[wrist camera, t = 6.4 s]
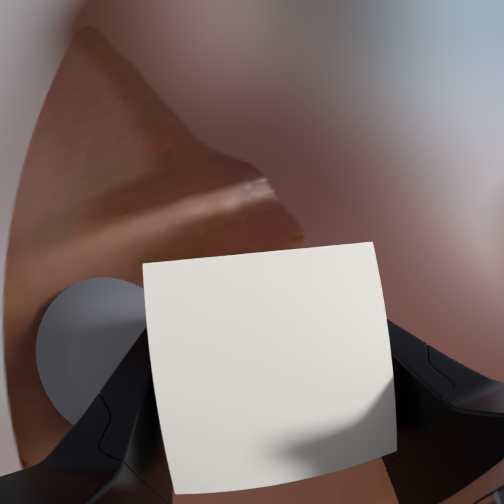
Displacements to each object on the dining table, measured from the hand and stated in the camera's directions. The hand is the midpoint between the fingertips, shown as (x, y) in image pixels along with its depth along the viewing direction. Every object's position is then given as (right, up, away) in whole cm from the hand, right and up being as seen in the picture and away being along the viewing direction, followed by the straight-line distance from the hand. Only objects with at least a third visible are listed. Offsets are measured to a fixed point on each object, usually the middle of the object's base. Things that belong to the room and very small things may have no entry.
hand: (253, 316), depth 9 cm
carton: (0, -3, +6) cm, 7 cm away
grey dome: (-10, -6, +11) cm, 16 cm away
